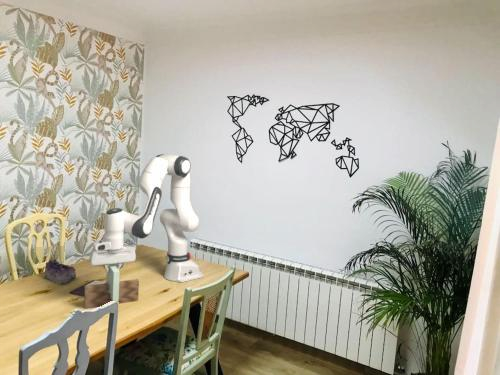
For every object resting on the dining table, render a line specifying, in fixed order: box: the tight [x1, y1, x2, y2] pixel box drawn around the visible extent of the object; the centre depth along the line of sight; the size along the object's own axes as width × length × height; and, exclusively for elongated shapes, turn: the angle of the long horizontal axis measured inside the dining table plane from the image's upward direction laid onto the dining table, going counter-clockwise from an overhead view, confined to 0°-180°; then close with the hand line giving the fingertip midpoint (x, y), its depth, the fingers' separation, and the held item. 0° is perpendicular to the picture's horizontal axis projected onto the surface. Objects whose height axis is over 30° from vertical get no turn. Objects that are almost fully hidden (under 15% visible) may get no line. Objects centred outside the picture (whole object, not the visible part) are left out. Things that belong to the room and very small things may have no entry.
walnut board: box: [83, 278, 140, 310], centre depth 178 cm, size 24×2×10 cm, turn 121°
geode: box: [44, 258, 77, 285], centre depth 202 cm, size 20×12×10 cm, turn 63°
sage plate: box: [105, 264, 121, 301], centre depth 177 cm, size 16×2×14 cm, turn 31°
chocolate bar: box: [68, 279, 106, 298], centre depth 193 cm, size 9×1×18 cm
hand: (112, 272), depth 177 cm, fingers closed on sage plate, 2 cm apart
